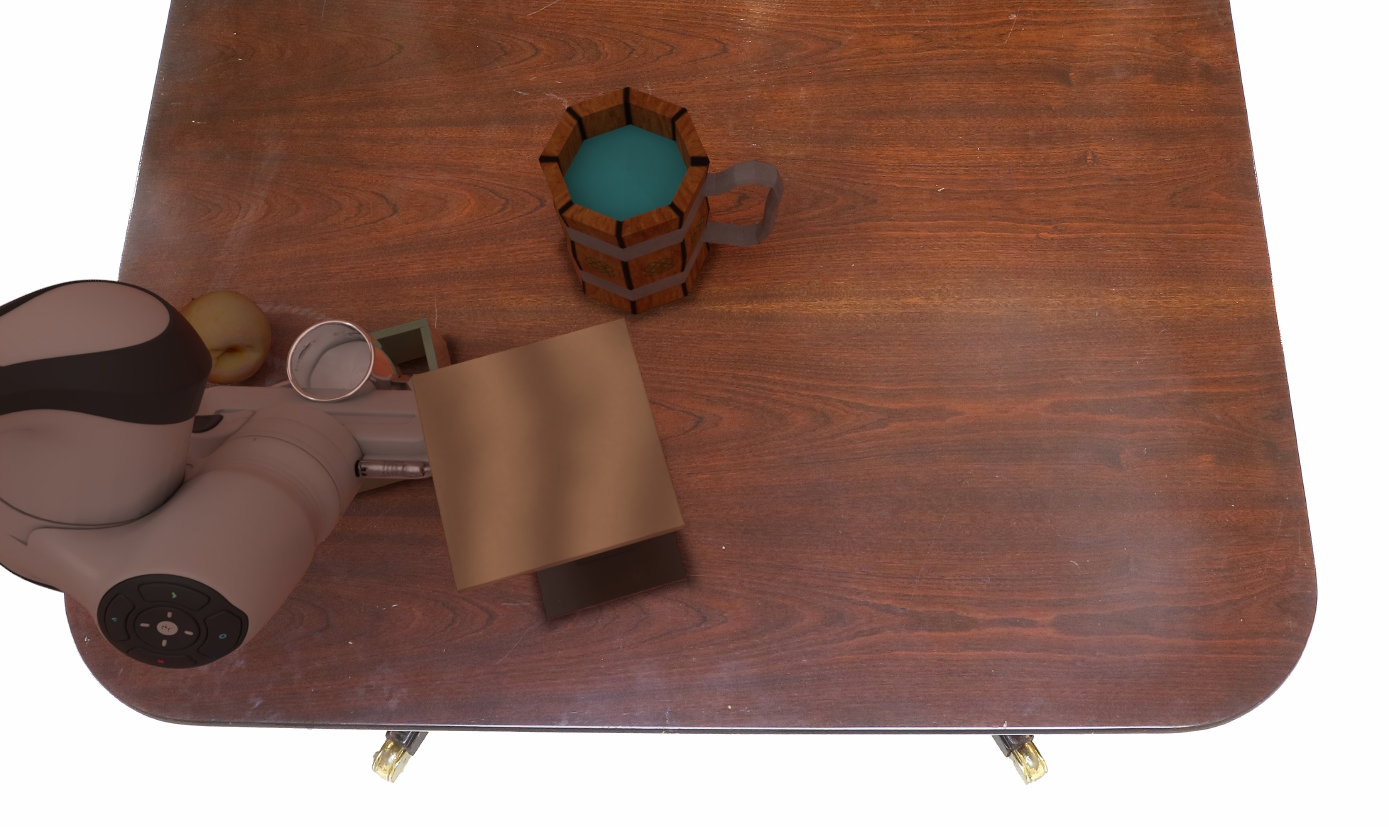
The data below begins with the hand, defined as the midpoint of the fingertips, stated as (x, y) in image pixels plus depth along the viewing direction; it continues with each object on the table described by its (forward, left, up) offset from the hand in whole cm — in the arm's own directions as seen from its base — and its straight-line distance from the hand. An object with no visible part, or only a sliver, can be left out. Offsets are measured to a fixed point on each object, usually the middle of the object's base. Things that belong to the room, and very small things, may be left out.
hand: (362, 380), depth 75 cm
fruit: (-12, +9, -9) cm, 18 cm away
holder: (0, -1, -8) cm, 8 cm away
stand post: (+15, -16, -8) cm, 23 cm away
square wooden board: (+15, -16, +19) cm, 28 cm away
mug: (+28, +8, -9) cm, 30 cm away
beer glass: (0, -1, -9) cm, 9 cm away
